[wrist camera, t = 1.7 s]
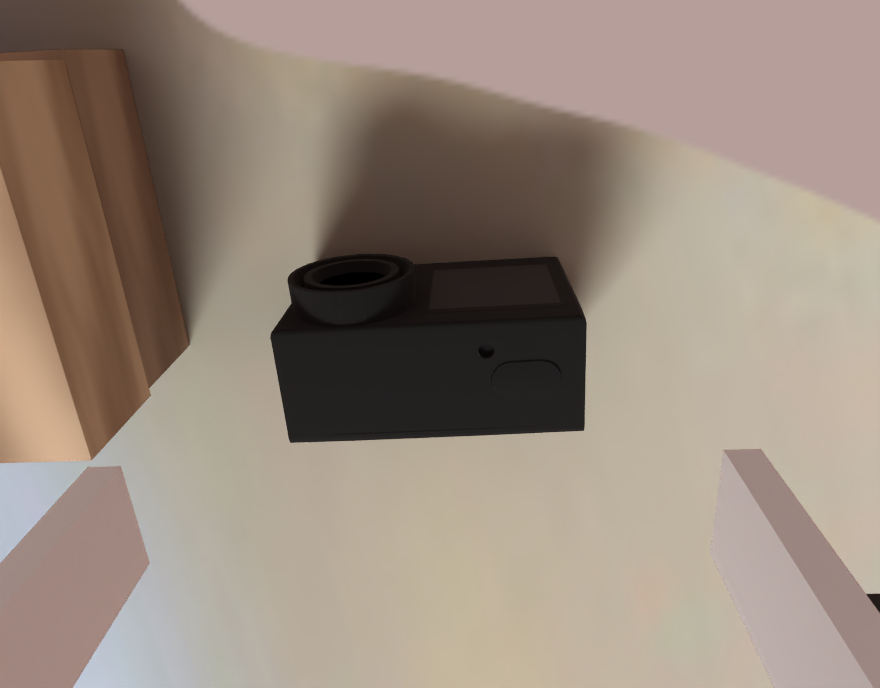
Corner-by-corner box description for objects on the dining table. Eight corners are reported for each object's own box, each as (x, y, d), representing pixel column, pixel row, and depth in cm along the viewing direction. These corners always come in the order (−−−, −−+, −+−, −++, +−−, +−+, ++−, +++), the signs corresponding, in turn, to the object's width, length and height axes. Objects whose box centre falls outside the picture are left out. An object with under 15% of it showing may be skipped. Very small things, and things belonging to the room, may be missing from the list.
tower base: (-23, 350, 31) (-99, 397, 26) (-126, 65, 26) (-238, 68, 22) (192, 341, 30) (149, 388, 26) (127, 49, 25) (62, 49, 21)
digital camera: (561, 227, 27) (591, 281, 21) (561, 349, 29) (588, 433, 23) (308, 241, 28) (261, 298, 21) (325, 360, 30) (287, 445, 23)
